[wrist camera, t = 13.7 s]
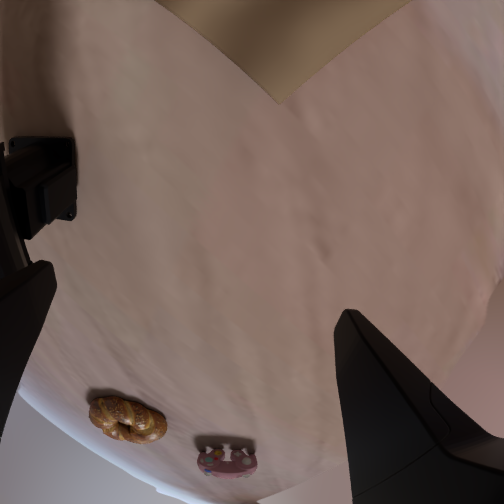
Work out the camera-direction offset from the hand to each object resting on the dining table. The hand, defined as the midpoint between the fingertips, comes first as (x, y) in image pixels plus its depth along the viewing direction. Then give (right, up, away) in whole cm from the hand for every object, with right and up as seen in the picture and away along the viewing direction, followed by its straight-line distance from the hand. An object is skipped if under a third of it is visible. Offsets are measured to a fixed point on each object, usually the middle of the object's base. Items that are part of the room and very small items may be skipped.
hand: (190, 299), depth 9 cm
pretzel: (-16, -22, +29) cm, 40 cm away
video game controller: (-2, -32, +35) cm, 47 cm away
